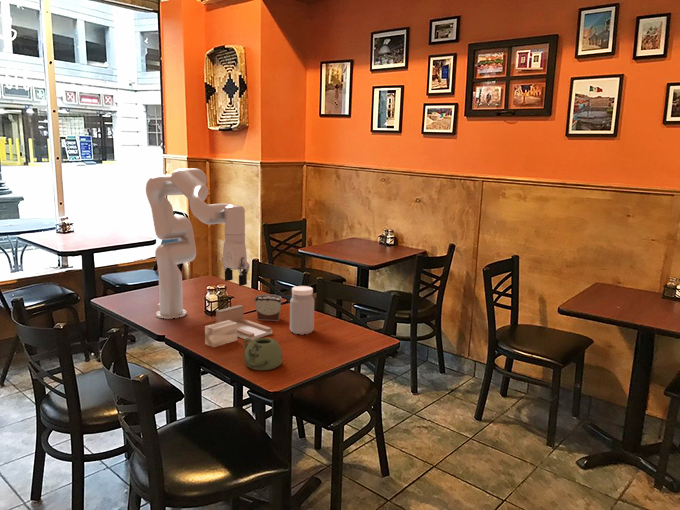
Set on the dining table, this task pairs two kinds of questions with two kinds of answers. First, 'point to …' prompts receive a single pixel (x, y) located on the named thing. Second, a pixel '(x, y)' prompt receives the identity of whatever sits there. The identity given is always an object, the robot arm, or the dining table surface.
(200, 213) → the robot arm
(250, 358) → the green rounded hollow pot
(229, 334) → the beige rectangular block
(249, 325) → the floor frame
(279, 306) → the food container
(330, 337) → the dining table surface
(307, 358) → the dining table surface
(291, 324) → the jar
